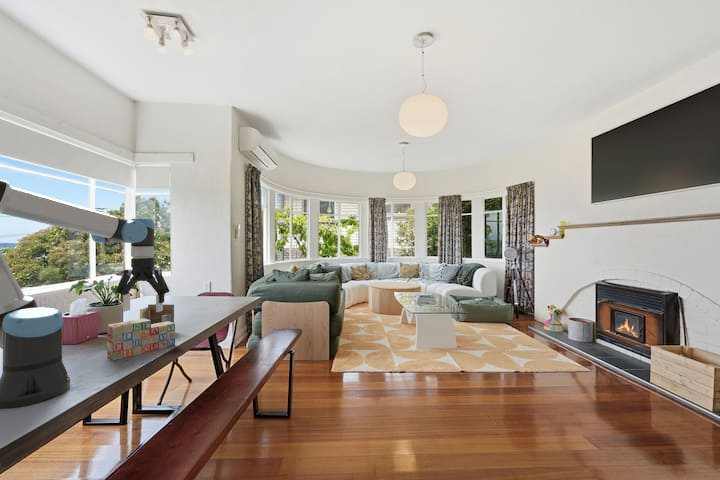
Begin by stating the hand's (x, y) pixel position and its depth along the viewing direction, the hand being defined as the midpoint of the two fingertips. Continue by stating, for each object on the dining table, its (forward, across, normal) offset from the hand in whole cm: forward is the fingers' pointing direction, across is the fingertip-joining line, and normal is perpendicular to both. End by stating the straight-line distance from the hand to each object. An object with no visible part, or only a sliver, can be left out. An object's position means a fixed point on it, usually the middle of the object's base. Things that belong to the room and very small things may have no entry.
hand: (142, 311), depth 124 cm
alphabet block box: (+16, +11, -18) cm, 26 cm away
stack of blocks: (+16, 0, 0) cm, 16 cm away
